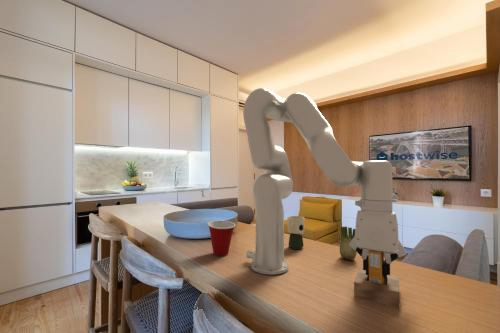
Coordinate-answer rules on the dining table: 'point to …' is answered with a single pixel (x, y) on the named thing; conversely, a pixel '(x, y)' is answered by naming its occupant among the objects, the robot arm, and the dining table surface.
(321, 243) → the dining table surface
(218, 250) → the plastic cup
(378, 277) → the supplement box
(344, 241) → the fennel bulb
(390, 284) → the square wooden frame
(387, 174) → the robot arm
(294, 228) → the character mug
